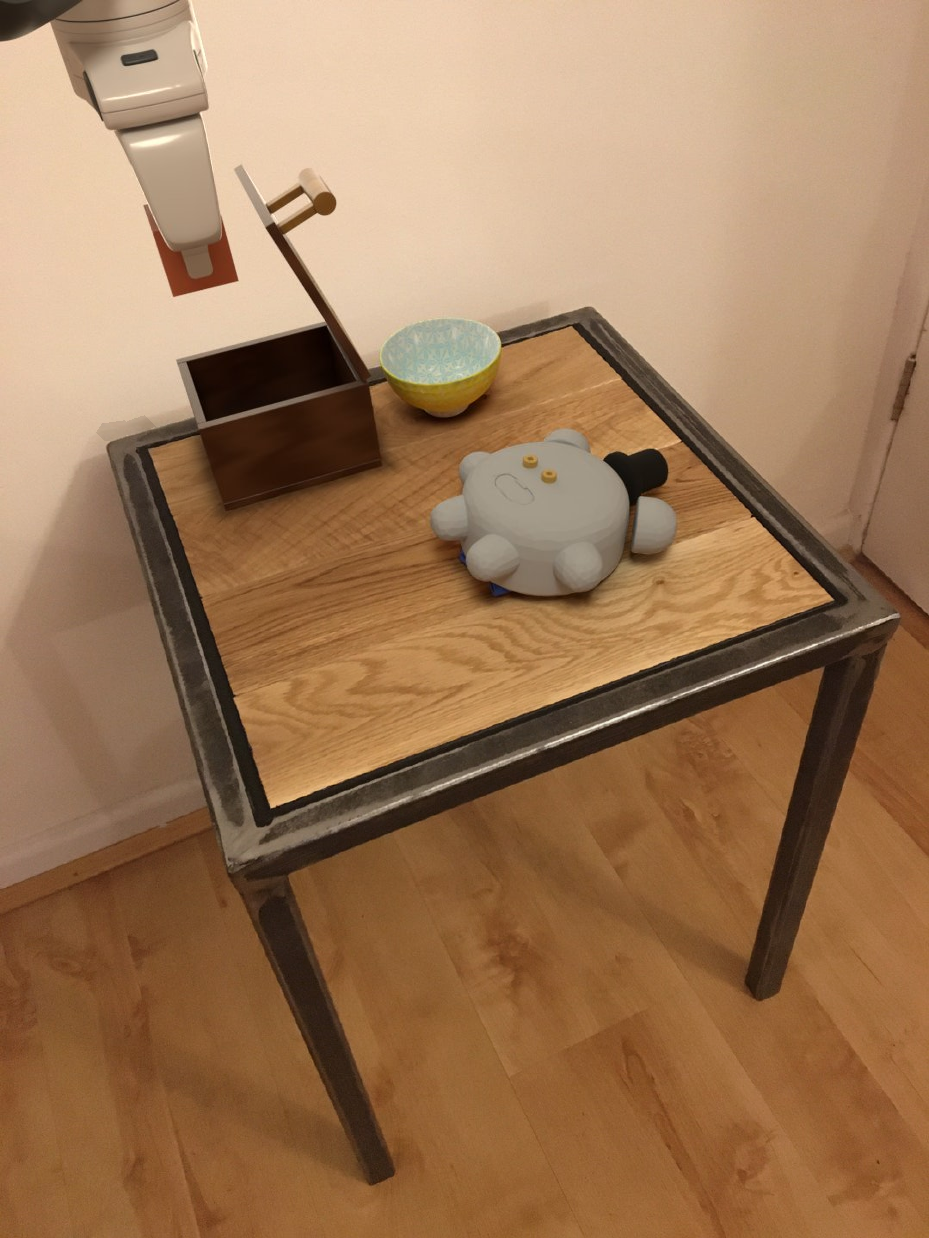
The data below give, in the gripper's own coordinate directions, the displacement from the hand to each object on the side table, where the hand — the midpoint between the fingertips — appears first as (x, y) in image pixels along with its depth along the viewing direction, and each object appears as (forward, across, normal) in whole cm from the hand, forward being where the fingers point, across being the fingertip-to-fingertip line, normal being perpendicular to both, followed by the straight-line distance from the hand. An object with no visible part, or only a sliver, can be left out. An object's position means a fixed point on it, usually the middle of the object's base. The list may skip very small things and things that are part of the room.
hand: (193, 255), depth 72 cm
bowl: (+21, -3, +19) cm, 29 cm away
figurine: (+21, +20, +21) cm, 36 cm away
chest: (+21, -2, +4) cm, 22 cm away
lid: (+5, -2, +8) cm, 9 cm away
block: (+2, 0, 0) cm, 2 cm away
